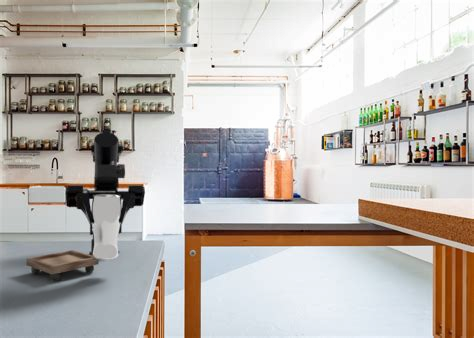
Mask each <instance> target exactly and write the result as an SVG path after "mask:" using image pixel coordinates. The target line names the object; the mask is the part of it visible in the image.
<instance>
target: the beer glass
mask: <svg viewBox="0 0 474 338" xmlns="http://www.w3.org/2000/svg"><path fill="white" fill-rule="evenodd" d="M91 201H92V202H91V214H92V227H93V229H92V230H93V233H94V250H93V254H91V255H92V257H93V258H94V259H98V261H101V260H102V261H104V260H113V259H117V258H118V257H119V254H120V253H118V251H119V247H118V237H119V234H120V233H119V228H120V223H121V213H122V200H121V195H117V194H97V195H93V199H91ZM118 233H119V234H118Z"/></svg>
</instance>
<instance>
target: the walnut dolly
mask: <svg viewBox="0 0 474 338" xmlns="http://www.w3.org/2000/svg"><path fill="white" fill-rule="evenodd" d="M92 255H93V254H88V253H84V252H81V251H76V250H72V249H70V250H66V251H60V252H55V253H49V254H44V255H37V256H31V257H26V266H27V267H30V270H31V273H32V275H35V274H39V273H40V272H41V271H42V272H44V273H47V274H50V280H51V282H55V281H58V280H60V277H61V275H60V273H65V272H69V271H70V272H71V271H76V270H78V269H83V268H84V270H85V272H86V273H87V274H90V273H94V272H95V271H94V270H95V266H98V265H99V260H98V259H94V258H93V257H92Z"/></svg>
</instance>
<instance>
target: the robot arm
mask: <svg viewBox="0 0 474 338" xmlns="http://www.w3.org/2000/svg"><path fill="white" fill-rule="evenodd" d="M93 140H94V142H91V146H90V147H91V148H90V149H91V156H92V162H93V163H94V177H93V180H94V181H93V187H94V189H92V190H91V189H88V188H85V187H84V184H82V185H81V184H76V185H75V184H72V185H71V184H69V185H67V186H66V187H65V204H66V205H65V206H66V207H68V208H76V209H77V210H81V212H82V213H83V214H84V216H85V217H86V219H87V222H88V224H89V235H90V236H92V239H91V246H90V248H91V250H90V251H89V255H93V250H94V233H93V227H92V214H91V210H92V206H91V200H93V195H97V194H117V195H121V201H122V202H121V206H122V213H121V223H120V228H119V233H118V235H120V234H122V233H123V232H122V228H123V227H122V226H123V223H124V220H125V218H126V215H127V214H128V212H129V211H130V210H131V209H134V208H135V207H142V206H143V205H144V201H145V194H146V190H145V186H144V185H141V184H139V185H138V184H132V185H131V184H129V185H128V188H127V190H126V191H125V190H120V191H119V190H118V189H119V184H120V183H119V179H125V176H126V165H125V164H124V163H123V164H121V163H119V162H120V156H122V155H121V154H122V153H124V146H123V145H121V143H119V138H118V136H117V135H116V134H114V133H112V132H111V129H110V130H108V129H102V132H100V133H98V134H97V135H95V137H94V138H93ZM118 254H120V251H119V250H118Z"/></svg>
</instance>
